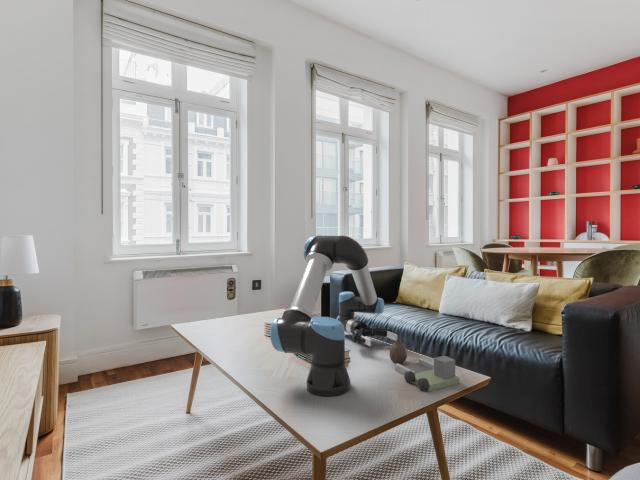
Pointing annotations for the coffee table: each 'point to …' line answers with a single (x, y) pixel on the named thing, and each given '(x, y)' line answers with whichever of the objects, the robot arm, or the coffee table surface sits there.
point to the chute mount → (415, 367)
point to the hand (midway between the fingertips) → (383, 340)
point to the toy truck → (435, 375)
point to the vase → (398, 352)
